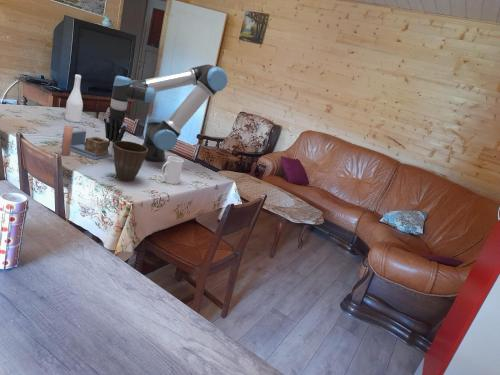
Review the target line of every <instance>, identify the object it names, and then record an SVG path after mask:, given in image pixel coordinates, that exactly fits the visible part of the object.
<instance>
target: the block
mask: <svg viewBox="0 0 500 375" xmlns="http://www.w3.org/2000/svg"><path fill="white" fill-rule="evenodd" d="M108 144H109V140H106V139H104V138H101V137H99V136H92V137H85V148H84V150H86V151H89V152H91V153H94V154H96V156H101V155H105V154H108V151H109V146H108Z"/></svg>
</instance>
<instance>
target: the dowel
mask: <svg viewBox="0 0 500 375" xmlns="http://www.w3.org/2000/svg"><path fill="white" fill-rule="evenodd" d="M73 131H74V126H70V125H64V127H63V133H64V136H63V135H62V140H63V145H62V144H61V155H62V156H68V157H69V156H70V154H71V151H70V148H71V140H72V132H73Z"/></svg>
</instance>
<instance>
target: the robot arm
mask: <svg viewBox="0 0 500 375" xmlns="http://www.w3.org/2000/svg"><path fill="white" fill-rule="evenodd" d="M227 84H228V75H227V73H226V72H225V70H224V69H223V68H221V67H219V66H214V65H212V64H203V65H202V64H201V65H199V66H195V67H190V68H189V70H184V71H181V72H179V71H178V72H174V73H169V74H166V75H160V76H156V77H151V78H147V79H146V78H145V79H141V80H135V79H134V80H132V79H131V78H129V77H126V76H122V75H116V76H114V81H113V86H112V93H111V94H112V95H111V100H110V108H109V114H108V115H109V116H108V117H107V118H103V122H104V129H105V139H108V141H109V144H108V146H109V148H108V151H109V152H108V153H109V154H113V155H114V142H116V141H123V137H124V135H125V134H126V131H127V129H128V128H129V125H127V124H126V123H125V119H126V116H127V114H126V113H127V109H128V108H127V107H128V102H129V100H136V101H140V102H145V103H153V102H154V100H155V97H156V95H155V94H156V93H159V92H163V91H168V90H174V89H177V88H181V87H186V86H191V85H192V86H195V87H194V88H193V90H192V91H191V92H190V93H189V94H188V95H187V96H186V97H185V99H183V101H182V102H181V103H180V104H179V106H178V107H177V108H176V109H175V110H174V112H173V113H172V114H170V117H169V118H168V119H160V118H154V117H149V118H148V120H147V123H146V129H145V133H144V134H145V135H144V139H143V143H142V145H143V146H145V147H146V148H147V149H148V151H147V154H146V157H145V159H144V161H145V160H146V161H149V162H155V163H163V162H164V161H165V160H166V152H165V151H169V150H172V149H173V148H175V146H176V145H177V143H178V138H179V137H180V136H181V134H182V133H181V132H182V131H181V130H182V129H183V128H184V126H185V125H186V124H188V123H187V122H189V120H190V119H191V118H193V116H194V115H195V113H196V112H197V111H198V110H199V109H200V108H201V106H203V104H204V103H205V102H206V101H207V99H208V98H209V97H214V96H215V95H216V93H217V92H220V91H222V90H224V89H225V88H226V87H227Z"/></svg>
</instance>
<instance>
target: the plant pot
mask: <svg viewBox="0 0 500 375" xmlns="http://www.w3.org/2000/svg"><path fill="white" fill-rule="evenodd" d="M147 151H148V149H147V148H146V147H145V146H143V144H140V143H137V142H133V141H130V140H129V141H127V140H121V141H116V142H114V154H113V162H114V170H115V174H116V178H117V179H118V180H120V181H123V182H132V181H134V179H135V178H136V176H137V175H138V173H139V172H140V170H141V168H142V166H143V164H144V161H145V157H146V154H147Z"/></svg>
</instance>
